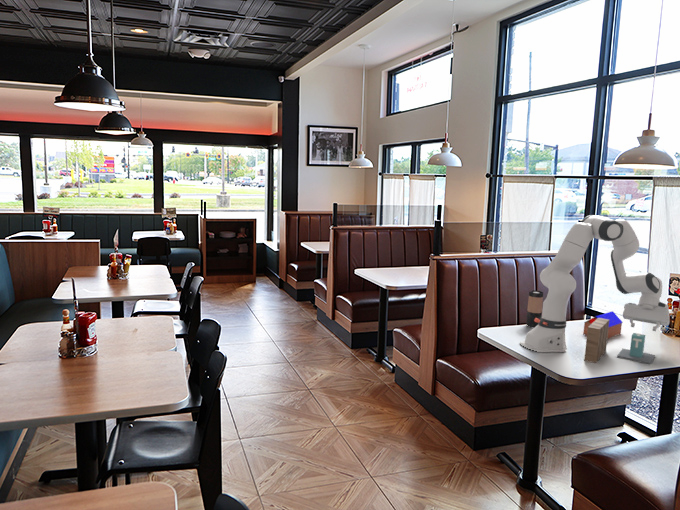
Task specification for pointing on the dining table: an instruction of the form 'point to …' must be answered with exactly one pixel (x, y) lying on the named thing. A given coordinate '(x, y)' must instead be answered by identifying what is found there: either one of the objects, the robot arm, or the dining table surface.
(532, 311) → the travel mug
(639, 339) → the lettered block
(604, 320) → the walnut screen
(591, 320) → the house
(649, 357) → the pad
